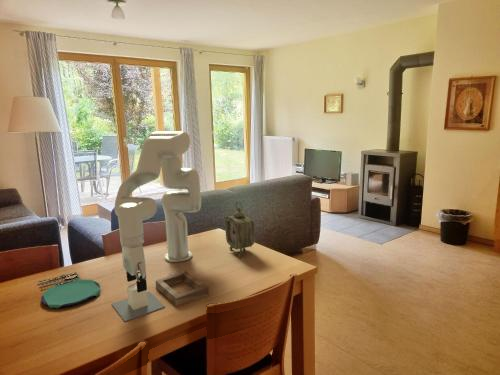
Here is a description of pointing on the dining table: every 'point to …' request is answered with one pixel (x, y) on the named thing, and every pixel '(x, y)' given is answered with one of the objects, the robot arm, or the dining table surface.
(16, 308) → the dining table surface
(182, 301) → the pocket block
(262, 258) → the dining table surface
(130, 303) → the cream block
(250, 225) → the grey lantern
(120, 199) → the robot arm
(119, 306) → the rubber mat
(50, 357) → the dining table surface
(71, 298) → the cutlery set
